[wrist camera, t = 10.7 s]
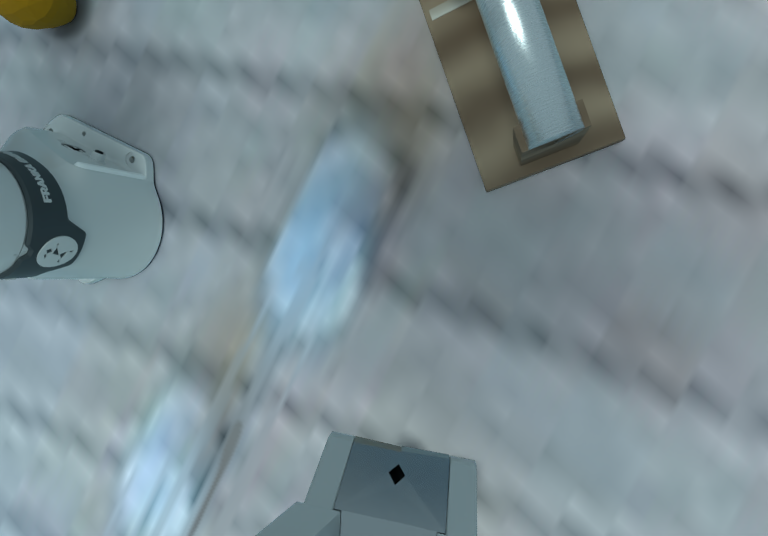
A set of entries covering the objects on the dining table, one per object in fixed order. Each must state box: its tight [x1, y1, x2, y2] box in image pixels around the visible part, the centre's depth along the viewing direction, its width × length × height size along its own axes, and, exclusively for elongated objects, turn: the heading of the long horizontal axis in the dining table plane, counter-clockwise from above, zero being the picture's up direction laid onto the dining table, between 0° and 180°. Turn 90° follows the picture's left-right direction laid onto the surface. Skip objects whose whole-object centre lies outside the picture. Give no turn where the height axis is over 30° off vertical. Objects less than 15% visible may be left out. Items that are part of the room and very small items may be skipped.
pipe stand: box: [419, 0, 625, 192], centre depth 36 cm, size 26×12×8 cm, turn 20°
